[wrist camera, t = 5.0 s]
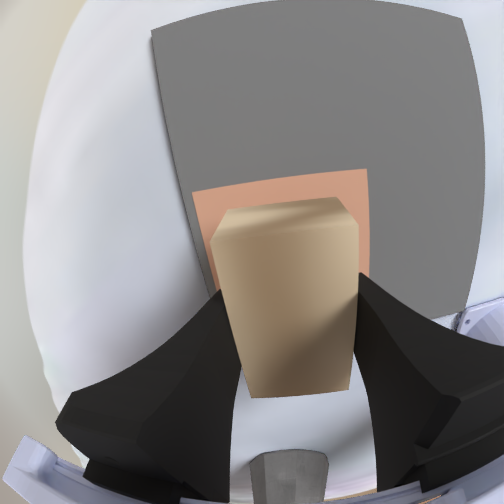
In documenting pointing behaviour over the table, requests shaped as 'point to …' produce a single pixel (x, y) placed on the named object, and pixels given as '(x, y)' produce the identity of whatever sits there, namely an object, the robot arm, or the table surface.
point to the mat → (335, 131)
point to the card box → (291, 293)
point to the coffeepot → (289, 477)
